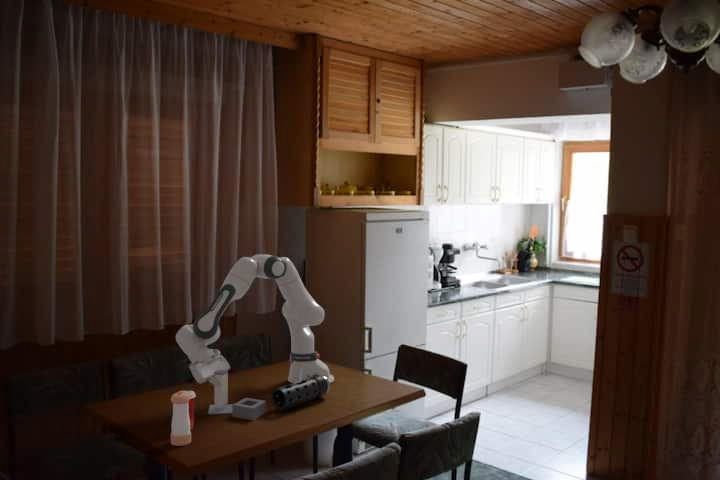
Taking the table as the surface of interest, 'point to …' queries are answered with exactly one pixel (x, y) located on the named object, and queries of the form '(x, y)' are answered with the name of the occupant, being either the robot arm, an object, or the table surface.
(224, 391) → the plug
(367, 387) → the table surface
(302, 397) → the muzzle brake
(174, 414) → the pepper shaker
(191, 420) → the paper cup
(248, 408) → the header
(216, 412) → the mat
